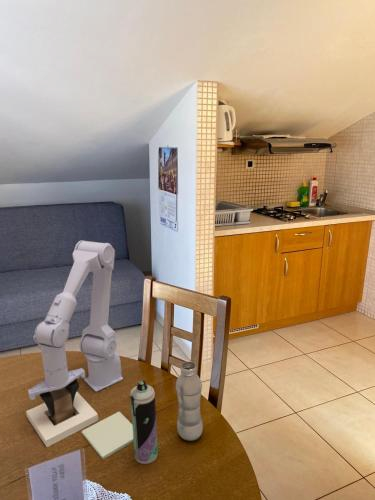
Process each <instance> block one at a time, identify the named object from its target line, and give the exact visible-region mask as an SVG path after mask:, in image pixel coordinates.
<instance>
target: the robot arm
mask: <svg viewBox="0 0 375 500" xmlns="http://www.w3.org/2000/svg"><path fill="white" fill-rule="evenodd" d="M71 254H72V260H73V264H72V267H71V269H70V272H69V274H68V277H67V280H66V283H65V285H64V288H63V291H62V292H60V293H59V294H56V296H55V297H54V300H53V302H52V303H51V306H50V308H49V310H48V311H47V313H46V316H45V318H44V320H43V321H42V322H39V324H37V326H36V327H35V330H34V335H33V340H34V342H35V343H36V344H37V345H38V349H39V350H40V351H41V359H42V366H43V373H44V380H42V381H41V382H39V383H38V384H37V385H35V386H33V387H32V388H30V389H27V393H28V397H29V399H30V400H31V401H33V400H36V397H38V396H39V397H40V399H41V400H42V401H43V403H45V404H46V406H47V408H48V411H49V413H50V417H51V416H52V417H53V416H55V412H54V407H53V396H52V395H51V393H50V392H51V391H54V390H58V389H61V388H64V387H65V388H66V389H67V390H68V391H69V392H70V394H71V399H72V407H73V403H74V398H75V395H76V392H78V390H79V388H80V383H79V381H78V379H80V378H81V379H84V380H83V381H84V382H85V383H86V384H87V385H88V386H89V387H90V388H91V389H92V390H94V392H96V393H97V392H99V391H101V390H103V389H106V388H107V387H110V386H113V385H114V384H117V383H118V382H121V381H123V379H124V377H123V376H122V374H123V373H122V365H121V364H122V363H121V362H122V361H121V358H120V355H119V352H118V351H117V339H116V331H115V330H113V328H112V327H111V326H109V313H110V312H109V311H110V300H111V287H112V286H111V285H112V275H113V274H112V271H113V270H114V266H115V256H116V250H115V249H114V247H113V246H112V244H111V243H109V242H96V241H88V240H87V241H86V240H79V241H78V242H77V243H76V244H75V245H74V250H73V252H72V253H71ZM91 272H92V274H93V276H92V289H91V301H90V302H91V303H90V316H89V325H87V327H85V328H83V329H82V331H81V334H82V335H81V338H80V341H79V351H80V352H81V353H82V354H84V357H85V358H86V361H87V370H88V376H87V377H86V371H85V370H84V368H82V367H80V368H78V369H73V370H69V369H68V361H67V353H66V352H67V351H66V346H65V345H66V344H65V343H66V342H67V340H68V338H69V335H70V334H69V332H70V321H71V318H72V316H73V313H74V312H75V309H76V308H77V305H78V302H77V299H76V297H77V295H78V293H79V291H80V289H81V288H82V285H83V284H84V282H85V281H86V278H87V277H88V275H89V273H91Z"/></svg>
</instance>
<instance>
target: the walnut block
mask: <svg viewBox="0 0 375 500" xmlns="http://www.w3.org/2000/svg"><path fill="white" fill-rule="evenodd" d="M49 392H50V393H51V395H52V396H53V407H54V412H55V416H53V417H52V416H51V415H50V419H51V420H52V421H53V422H52V423H53V424H55V425H57V424H59V423H61V422H63V421H65V420H67V419H69V418H71V417H73V416H75V415H74V411H73V407H72V399H71V394H70V392H69V391H68V390H67V389H66V388H65V387H64V388H61V389H58V390H53V391H49Z"/></svg>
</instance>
